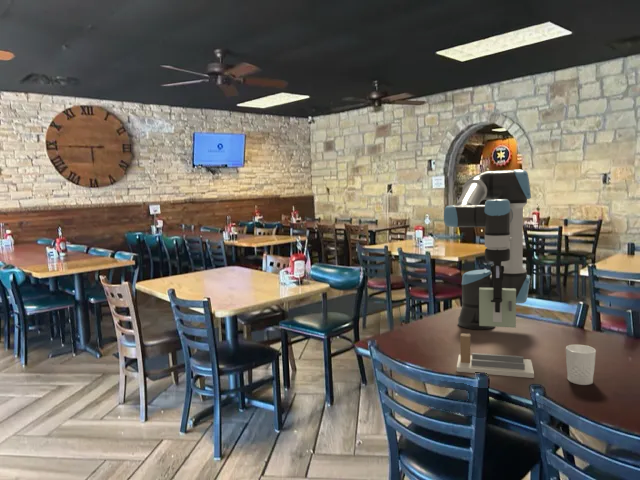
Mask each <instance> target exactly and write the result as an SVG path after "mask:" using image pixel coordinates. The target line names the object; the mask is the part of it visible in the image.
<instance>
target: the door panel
mask: <svg viewBox="0 0 640 480" xmlns="http://www.w3.org/2000/svg"><path fill="white" fill-rule="evenodd" d="M491 300H493V288H481V287H479V326H494V327H493V328H496V327H498V328H517V303H516V289H515V288H502V322H493V302H491Z"/></svg>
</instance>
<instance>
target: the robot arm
mask: <svg viewBox="0 0 640 480" xmlns="http://www.w3.org/2000/svg"><path fill="white" fill-rule="evenodd" d="M461 192H462V193H461V195H459V198H458V200H457V202H456V204H452V205H446V206H445V208H444V210H443V221H444V224H445V226H447V228H448V227H450V228H479V227H480V228H484V247H485V249H484V259H485V261H487V262H493V265H490V269H473V270H469V271H466V272H464V273H463V274H462V277H461V305H462V306H461V309H460V313H459V316H458V318H457V325H458V326H459V327H461V328H465V329H469V330H489V329H492V328H495V327H494V326H479V287H481V288H493V300H491V302H493V322H502V288H515V289H516V304H524V303H526V302H527V300H528V297H529V291H530V290H529V289H530V283H531V275H530V274H527V269H526V268H525V267H524V266H523V265H524V264H523V258H524V257H523V255H524V254H523V253H524V252H523V251H524V250H523V246H524V245H523V243H524V240H523V238H524V237H523V236H524V234H523V232H524V230H523V227H524V225H523V224H524V223H523V222H524V220H523V219H524V214H523V213H524V211H523V210H524V207H525V206H526V205H527V204H528V200H529V199H531V198H532V194H531V192H532V191H531V184H530V177H529V173H528V171H527V170H526V169H503V170H486V171H483V172H480V173H477V174H475V175H473V176H472V177H469V179H467V181H465V183H464V184H463V186H462V191H461ZM485 200H486V201H485ZM482 201H484V202H485V203H484V204H481V202H482Z"/></svg>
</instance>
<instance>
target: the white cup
mask: <svg viewBox="0 0 640 480" xmlns="http://www.w3.org/2000/svg"><path fill="white" fill-rule="evenodd" d="M596 352H597V350H596V349H595V348H594V347H592V346H589V345H584V344H578V343H577V344H569V345H566V346H565V357H566V358H565V359H566V361H565V362H566V371H567V376H566V377H567V380H568V381H569V382H570V383H573V384H576V385H580V386H589V385H592V384H594V383H593V382H594V375H595V374H594V373H595V366H596Z"/></svg>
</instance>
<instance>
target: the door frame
mask: <svg viewBox="0 0 640 480" xmlns="http://www.w3.org/2000/svg"><path fill="white" fill-rule="evenodd" d="M459 339H460V341H459V343H460V354H458V358H457V363H456V372H457V373H467V374H468V373H470V374H476V373H475V372H485V373H487V374H486V375H494V376H502V377H504V376H507V377H518V378H528V379H529V378H530V379H532V378H533V379H534V378H535V372H534V368H533V362H532V359H528V358H527V359H525V357H524V356H523V355H522V356H521V355H506V354H496V353H495V354H494V353H480V352H471V333H464V332H463V333H460V338H459ZM471 354H472V355H471Z"/></svg>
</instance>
